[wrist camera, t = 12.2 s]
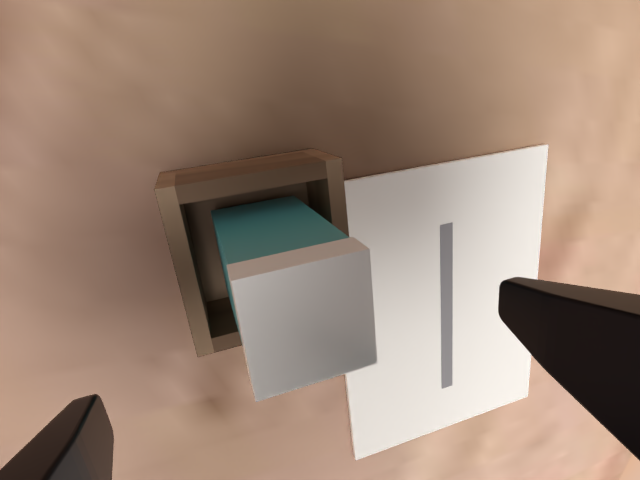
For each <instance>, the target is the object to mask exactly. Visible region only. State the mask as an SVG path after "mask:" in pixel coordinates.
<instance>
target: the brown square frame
mask: <svg viewBox="0 0 640 480" xmlns="http://www.w3.org/2000/svg"><path fill="white" fill-rule="evenodd" d="M154 191H155V195H156V198H157V202H158V206H159V210H160V214H161V218H162V222H163V225H164V229H165V233H166V237H167V241H168V245H169V249H170V253H171V256H172V260H173V264H174V268H175V272H176V276H177V280H178V283H179V287H180V291H181V295H182V299H183V303H184V307H185V310H186V314H187V318H188V322H189V326H190V330H191V334H192V338H193V341H194V345H195V349H196V353H197V357H200V356H204V355H208V354H211V353H215V352H219V351H222V350H226V349H230V348H233V347H237V346H241V345H242V342H241V338H240V335H239V331H238V328H237V324H236V320H235V317H234V313H233V310H232V306H231V303H230V299H229V295H228V292H227V288H226V283H225V278H224V274H223V269H222V264H221V259H220V255H219V250H218V245H217V240H216V235H215V231H214V226H213V221H212V216H211V211H212V210H218V209H223V208H229V207H234V206H239V205H245V204H250V203H256V202H261V201H266V200H272V199H277V198H283V197H288V196H295V197H296V198H298V199H299V200H300V201H302V202H303V203H304V204H306V205H307V206H308V207H310V208H311V209H312V210H314V211H315V212H316V213H318V214H319V215H320V216H322V217H323V218H324V219H326V220H327V221H328V222H330V223H331V224H332V225H334V226H335V227H336V228H338V229H339V230H340V231H342V232H343V233H344V234H346V235H347V236H348V237H349V228H348V217H347V207H346V196H345V185H344V174H343V163H342V158H340V157H337V156H334V155H331V154H328V153H325V152H322V151H319V150H316V149H313V148H312V149H306V150H300V151H293V152H287V153H281V154H274V155H268V156H262V157H255V158H249V159H243V160H236V161H230V162H224V163H217V164H211V165H205V166H198V167H192V168H186V169H179V170H173V171H167V172H160V173H159V176H158V179H157V183H156V186H155V189H154Z"/></svg>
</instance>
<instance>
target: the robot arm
mask: <svg viewBox="0 0 640 480" xmlns="http://www.w3.org/2000/svg"><path fill="white" fill-rule="evenodd" d="M498 313H499V316H500V318H501V320H502V321H503V323H504V324H505V325H506V326H507V327H508V328H509V329H510V331H511V332H512V333H513V334H514V335H515V336H516V338H517V339H518V340H519V341H520V342H521V343H522V344H523V346H524V347H525V348H526V349H527V350H528V351H529V352H530V354H531V355H532V356H533V357H534V358H535V359H536V360H537V362H538V363H539V364H540V365H541V366H542V367H543V368H544V369H545V370H546V371H547V372H548V373H549V374H550V375H551V376H552V377H553V378H554V379H555V380H556V381H557V382H558V383H559V384H560V385H561V386H562V387H563V388H564V389H565V390H567V391H568V392H569V393H570V394H571V395H572V396H573V397H574V398H575V399H576V400H577V401H578V402H579V403H580V404H581V405H582V406H583V407H584V408H585V409H586V410H587V411H588V412H589V413H591V414H592V415H593V416H594V417H595V418H596V419H597V420H598V421H599V422H600V423H601V424H602V425H603V426H604V427H605V428H606V429H607V430H608V431H609V432H610V433H611V434H612V435H613V436H615V437H616V438H617V439H618V440H619V441H620V442H621V443H622V444H623V445H624V446H625V447H626V448H627V449H628V450H629V451H630V452H631V453H632V454H633V455H634V456H635V457H637V458H638V459H639V460H640V295H637V294H631V293H624V292H617V291H611V290H604V289H597V288H591V287H584V286H577V285H570V284H564V283H557V282H550V281H544V280H537V279H530V278H524V277H513V278H510V279H506V280H503V281H502V282H501V283H500V286H499V302H498ZM113 444H114V436H113V430H112V426H111V423H110V421H109V418H108V415H107V413H106V410H105V407H104V405H103V402H102V400H101V398H100V396H99V395H97V394H93V395H89V396H86V397H82V398H78V399H75V400H73V401H72V402H71V403H70V404H68V405H67V406H66V407H65V408H64V409H63V410H62V411H61V412H60V413H59V414H58V415H57V416H56V417H55V418H54V419H53V420H52V421H51V422H50V423H49V424H48V425H47V426H45V427H44V428H43V429H42V430H41V431H40V432H39V433H38V434H37V435H36V436H35V437H34V438H33V439H32V440H31V441H30V442H29V443H28V444H27V445H26V446H25V447H24V448H23V449H21V450H20V451H19V452H18V453H17V454H16V455H15V456H14V457H13V458H12V459H11V460H10V461H9V462H8V463H7V464H6V465H5V466H4V467H3V468H2V469H1V470H0V480H112V464H113Z"/></svg>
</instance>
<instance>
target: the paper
mask: <svg viewBox="0 0 640 480" xmlns="http://www.w3.org/2000/svg"><path fill="white" fill-rule="evenodd" d="M547 156H548V144H541V145H536V146H530V147H525V148H519V149H514V150H508V151H503V152H497V153H492V154H486V155H481V156H475V157H470V158H464V159H459V160H453V161H448V162H442V163H437V164H431V165H426V166H420V167H415V168H409V169H404V170H399V171H393V172H388V173H382V174H377V175H371V176H366V177H360V178H355V179H349V180H344V185H345V196H346V207H347V217H348V228H349V237H354V238H356V239H357V240H358V241H360V242H361V243H362V244H364V245H365V246H366V247H368V248H369V249H370V262H371V276H372V290H373V304H374V318H375V332H376V346H377V360H378V364H375V365H371V366H368V367H365V368H362V369H359V370H356V371H353V372H349V373H346V374H344V375H345V384H346V393H347V402H348V411H349V420H350V429H351V438H352V447H353V456H354V458H355V461H356V460H359V459H361V458H364V457H367V456H369V455H372V454H375V453H377V452H380V451H383V450H385V449H388V448H391V447H393V446H396V445H399V444H402V443H404V442H407V441H410V440H412V439H415V438H418V437H420V436H423V435H426V434H428V433H431V432H434V431H436V430H439V429H442V428H445V427H447V426H450V425H453V424H455V423H458V422H461V421H463V420H466V419H469V418H471V417H474V416H477V415H479V414H482V413H485V412H487V411H490V410H493V409H496V408H498V407H501V406H504V405H506V404H509V403H512V402H514V401H517V400H520V399H522V398H525V397H528V388H529V376H530V363H531V354H530V352H529V351H528V350H527V349H526V348H525V347H524V346H523V344H522V343H521V342H520V341H519V340H518V339H517V338H516V336H515V335H514V334H513V333H512V332H511V331H510V329H509V328H508V327H507V326H506V325H505V324H504V323H503V321H502V320H501V318H500V316H499V313H498V302H499V286H500V283H501V282H502V281H503V280H506V279H510V278H513V277H524V278H530V279H537V278H538V266H539V253H540V241H541V229H542V217H543V205H544V192H545V180H546V168H547Z"/></svg>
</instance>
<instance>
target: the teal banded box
mask: <svg viewBox="0 0 640 480" xmlns="http://www.w3.org/2000/svg"><path fill="white" fill-rule="evenodd" d="M211 216H212V221H213V226H214V231H215V235H216V240H217V245H218V250H219V255H220V259H221V264H222V269H223V274H224V278H225V283H226V288H227V292H228V295H229V299H230V303H231V306H232V310H233V313H234V317H235V320H236V324H237V328H238V331H239V335H240V338H241V342H242V346H243V349H244V354H245V359H246V364H247V369H248V374H249V379H250V382H251V386H252V390H253V393H254V397H255V401H256V402H258V401H261V400H264V399H267V398H271V397H274V396H277V395H280V394H283V393H286V392H289V391H293V390H296V389H299V388H302V387H305V386H308V385H312V384H315V383H318V382H321V381H324V380H327V379H330V378H334V377H337V376H340V375H343V374H346V373H349V372H353V371H356V370H359V369H362V368H365V367H368V366H371V365H375V364H378V360H377V346H376V332H375V318H374V304H373V290H372V276H371V262H370V249H369V248H368V247H366V246H365V245H364V244H362V243H361V242H360V241H358V240H357V239H356V238H354V237H348V236H347V235H346V234H344V233H343V232H342V231H340V230H339V229H338V228H336V227H335V226H334V225H332V224H331V223H330V222H328V221H327V220H326V219H324V218H323V217H322V216H320V215H319V214H318V213H316V212H315V211H314V210H312V209H311V208H310V207H308V206H307V205H306V204H304V203H303V202H302V201H300V200H299V199H298V198H296V197H295V196H288V197H283V198H277V199H272V200H266V201H261V202H256V203H250V204H245V205H239V206H234V207H229V208H223V209H218V210H212V211H211Z"/></svg>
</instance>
